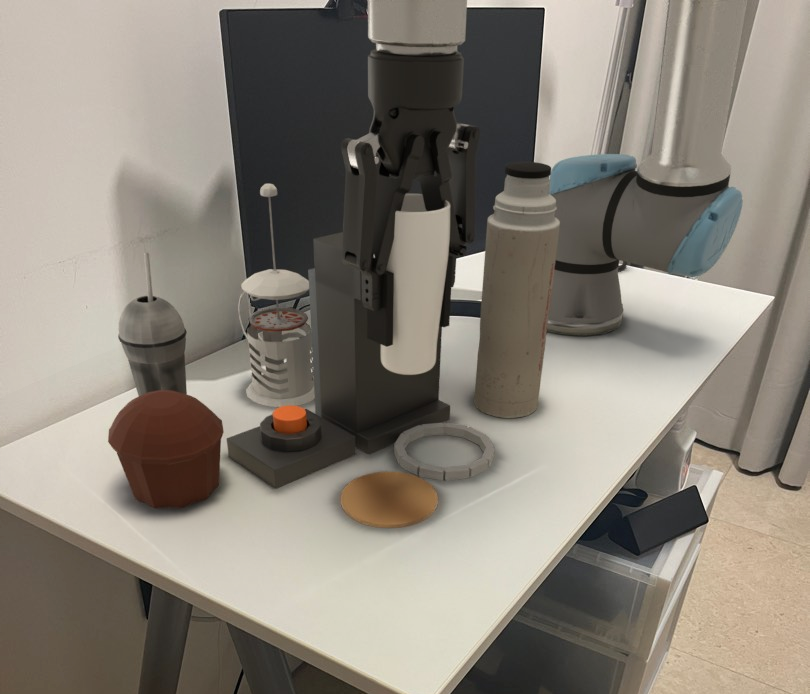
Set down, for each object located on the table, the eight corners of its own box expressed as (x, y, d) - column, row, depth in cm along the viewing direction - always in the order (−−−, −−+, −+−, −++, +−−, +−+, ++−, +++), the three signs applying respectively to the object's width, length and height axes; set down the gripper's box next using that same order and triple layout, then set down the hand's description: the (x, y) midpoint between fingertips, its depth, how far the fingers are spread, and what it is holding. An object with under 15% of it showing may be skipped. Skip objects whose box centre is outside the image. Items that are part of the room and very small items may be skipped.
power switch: (307, 426, 98) (305, 395, 96) (356, 455, 93) (355, 423, 91) (228, 457, 92) (224, 425, 90) (275, 489, 87) (273, 456, 85)
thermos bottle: (539, 393, 107) (568, 159, 90) (535, 421, 100) (565, 175, 84) (478, 386, 108) (495, 154, 92) (470, 414, 102) (487, 170, 85)
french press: (279, 416, 100) (262, 199, 86) (220, 386, 107) (194, 180, 92) (338, 390, 106) (331, 184, 92) (279, 364, 113) (263, 166, 98)
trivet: (392, 466, 91) (392, 461, 91) (457, 503, 86) (457, 498, 85) (321, 498, 86) (320, 493, 85) (385, 541, 80) (385, 536, 80)
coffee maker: (389, 390, 107) (390, 212, 94) (518, 454, 94) (540, 259, 81) (308, 420, 100) (298, 233, 87) (437, 495, 87) (447, 288, 74)
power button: (293, 416, 93) (292, 402, 92) (313, 427, 91) (312, 413, 90) (267, 426, 91) (266, 411, 90) (286, 438, 89) (285, 423, 88)
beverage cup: (123, 435, 96) (87, 261, 84) (159, 408, 101) (130, 242, 90) (177, 447, 94) (149, 271, 82) (211, 419, 99) (189, 250, 88)
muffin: (250, 493, 86) (241, 406, 81) (150, 530, 81) (133, 440, 75) (196, 448, 94) (184, 365, 88) (102, 479, 88) (82, 393, 82)
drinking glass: (389, 385, 76) (391, 215, 67) (362, 357, 81) (361, 196, 72) (455, 374, 78) (465, 208, 70) (425, 347, 83) (431, 190, 75)
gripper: (468, 38, 72) (453, 298, 85) (285, 49, 61) (301, 345, 75) (534, 46, 68) (507, 318, 81) (350, 59, 57) (354, 372, 70)
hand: (408, 331), depth 78 cm, fingers closed on drinking glass, 7 cm apart
